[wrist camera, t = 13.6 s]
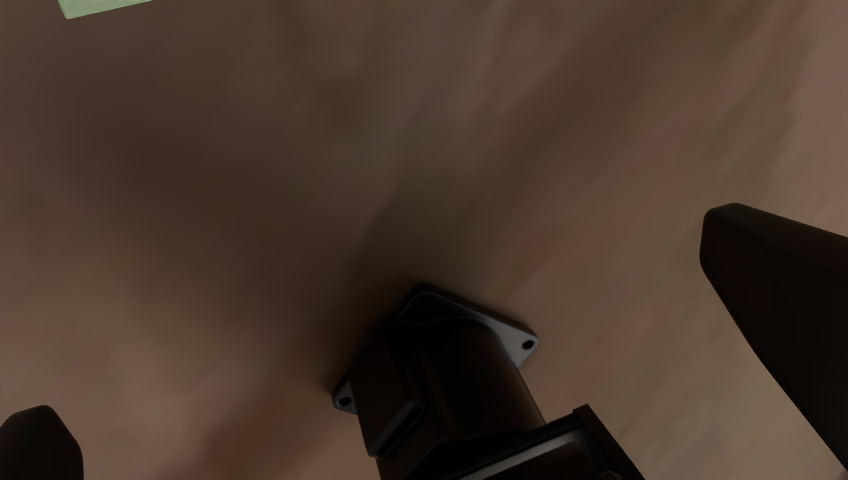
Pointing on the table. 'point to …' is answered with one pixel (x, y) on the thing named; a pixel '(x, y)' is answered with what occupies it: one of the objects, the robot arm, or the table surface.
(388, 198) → the table surface
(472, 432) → the robot arm
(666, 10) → the table surface
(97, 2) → the bin
